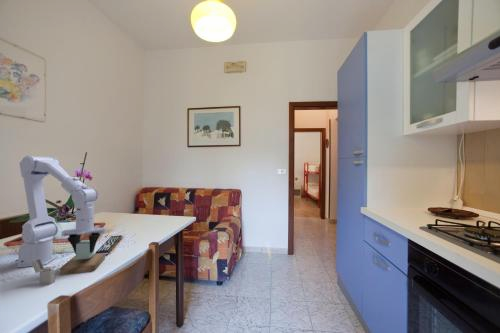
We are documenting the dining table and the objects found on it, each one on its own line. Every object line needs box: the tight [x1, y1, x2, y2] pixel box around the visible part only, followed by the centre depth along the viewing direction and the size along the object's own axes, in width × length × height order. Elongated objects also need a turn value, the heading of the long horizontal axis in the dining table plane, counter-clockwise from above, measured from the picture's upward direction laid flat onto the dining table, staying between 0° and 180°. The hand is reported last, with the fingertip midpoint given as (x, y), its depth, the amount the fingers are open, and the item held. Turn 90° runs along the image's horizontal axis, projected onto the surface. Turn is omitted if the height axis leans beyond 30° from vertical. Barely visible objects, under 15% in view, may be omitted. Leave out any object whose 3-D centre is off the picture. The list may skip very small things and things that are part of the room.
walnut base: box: [59, 252, 106, 276], centre depth 84 cm, size 11×11×3 cm
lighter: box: [31, 259, 56, 285], centre depth 72 cm, size 7×2×8 cm, turn 87°
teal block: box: [75, 239, 95, 260], centre depth 84 cm, size 4×4×6 cm
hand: (84, 252), depth 84 cm, fingers closed on teal block, 4 cm apart
